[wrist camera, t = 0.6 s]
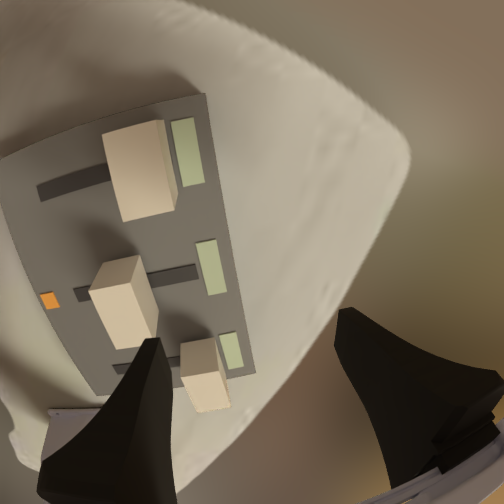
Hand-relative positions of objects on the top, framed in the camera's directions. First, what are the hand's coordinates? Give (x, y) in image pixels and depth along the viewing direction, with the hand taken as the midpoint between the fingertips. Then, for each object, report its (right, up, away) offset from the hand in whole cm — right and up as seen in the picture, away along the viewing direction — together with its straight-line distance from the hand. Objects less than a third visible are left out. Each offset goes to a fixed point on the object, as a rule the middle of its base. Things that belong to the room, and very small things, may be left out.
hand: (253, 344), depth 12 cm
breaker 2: (-3, -4, +9) cm, 11 cm away
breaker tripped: (-7, +1, +6) cm, 10 cm away
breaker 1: (-5, +8, +3) cm, 10 cm away
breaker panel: (-8, +2, +8) cm, 12 cm away
